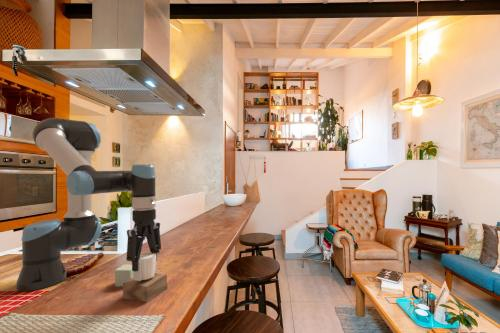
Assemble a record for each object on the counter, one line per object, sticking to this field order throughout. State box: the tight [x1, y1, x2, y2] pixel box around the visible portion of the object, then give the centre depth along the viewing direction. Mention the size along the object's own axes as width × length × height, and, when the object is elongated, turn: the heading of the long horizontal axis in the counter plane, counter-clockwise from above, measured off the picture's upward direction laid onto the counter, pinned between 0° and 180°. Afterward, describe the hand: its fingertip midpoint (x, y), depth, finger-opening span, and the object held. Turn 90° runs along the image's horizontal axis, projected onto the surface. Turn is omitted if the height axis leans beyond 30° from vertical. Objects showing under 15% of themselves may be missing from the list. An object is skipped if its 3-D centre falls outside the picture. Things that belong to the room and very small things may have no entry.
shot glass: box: [139, 252, 156, 280], centre depth 91 cm, size 7×7×7 cm
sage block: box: [114, 263, 133, 287], centre depth 99 cm, size 6×6×6 cm
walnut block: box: [122, 272, 168, 303], centre depth 90 cm, size 10×10×5 cm
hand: (145, 275), depth 90 cm, fingers closed on shot glass, 7 cm apart
